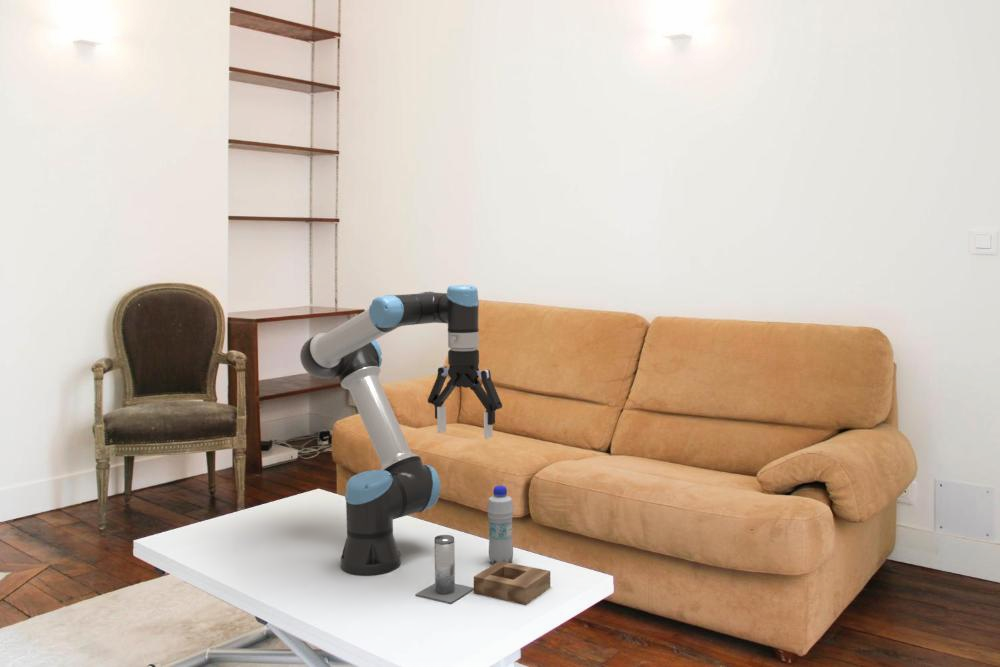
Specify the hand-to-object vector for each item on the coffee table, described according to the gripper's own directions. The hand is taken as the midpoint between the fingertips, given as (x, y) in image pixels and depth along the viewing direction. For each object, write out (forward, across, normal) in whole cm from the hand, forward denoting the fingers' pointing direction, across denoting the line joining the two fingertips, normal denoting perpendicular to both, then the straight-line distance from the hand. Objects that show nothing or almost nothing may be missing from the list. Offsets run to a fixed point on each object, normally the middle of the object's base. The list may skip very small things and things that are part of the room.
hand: (464, 434), depth 225 cm
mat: (+35, +3, -14) cm, 38 cm away
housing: (+35, +16, -5) cm, 39 cm away
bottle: (+35, +4, +10) cm, 37 cm away
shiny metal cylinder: (+34, +3, -14) cm, 37 cm away
